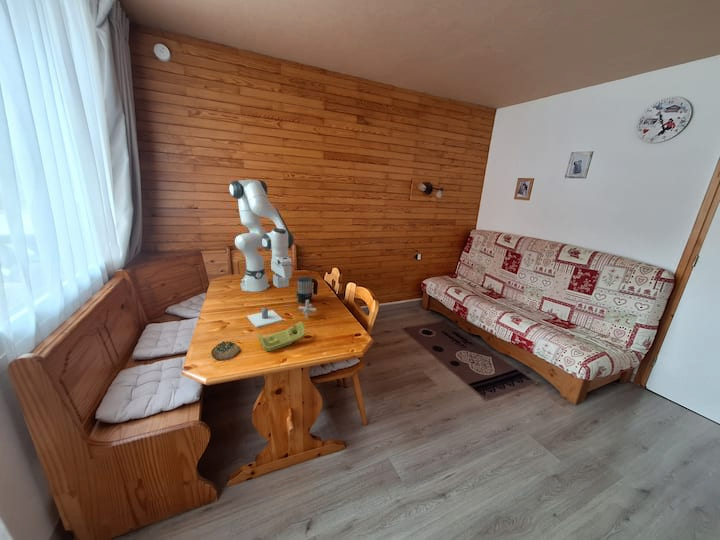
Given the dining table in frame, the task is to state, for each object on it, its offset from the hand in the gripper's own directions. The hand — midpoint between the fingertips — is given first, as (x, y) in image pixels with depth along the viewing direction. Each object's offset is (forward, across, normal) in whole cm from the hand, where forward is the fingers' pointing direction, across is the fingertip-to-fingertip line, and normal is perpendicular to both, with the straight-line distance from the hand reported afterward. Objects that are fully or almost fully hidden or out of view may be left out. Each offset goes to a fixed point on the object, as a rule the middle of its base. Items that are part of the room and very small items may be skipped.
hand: (281, 281), depth 157 cm
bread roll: (+17, +29, -38) cm, 51 cm away
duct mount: (+17, +8, -13) cm, 23 cm away
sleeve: (+2, 0, 0) cm, 2 cm away
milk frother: (+17, -7, +18) cm, 26 cm away
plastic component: (+17, +35, -14) cm, 41 cm away
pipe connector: (+17, +18, +7) cm, 26 cm away
